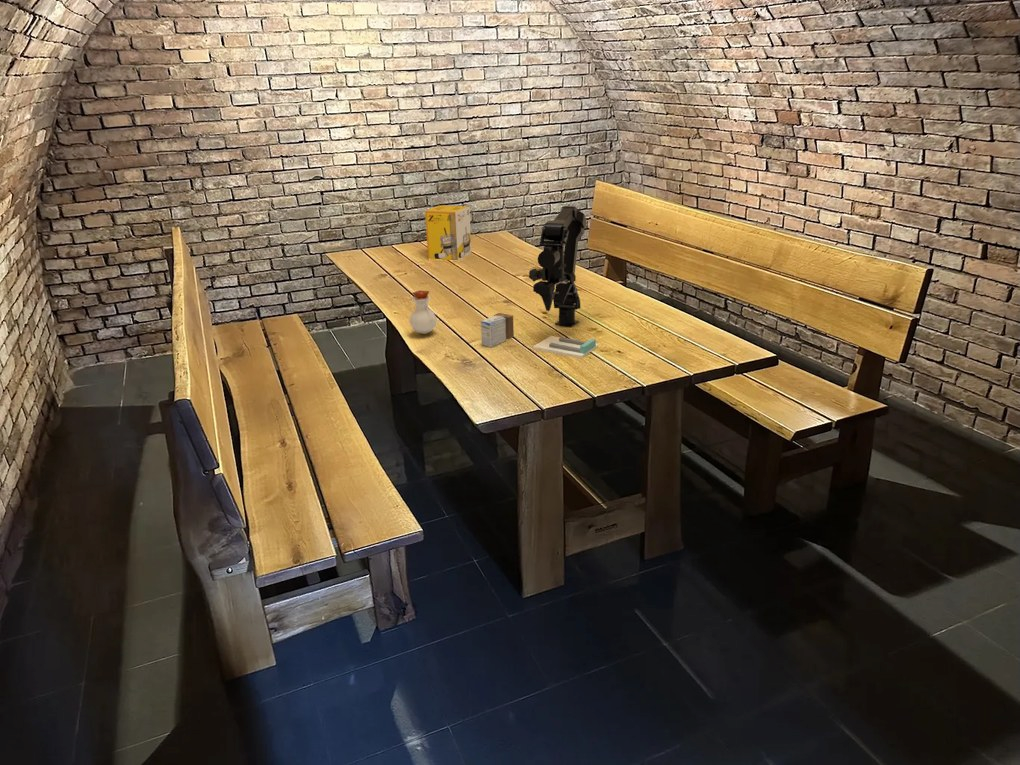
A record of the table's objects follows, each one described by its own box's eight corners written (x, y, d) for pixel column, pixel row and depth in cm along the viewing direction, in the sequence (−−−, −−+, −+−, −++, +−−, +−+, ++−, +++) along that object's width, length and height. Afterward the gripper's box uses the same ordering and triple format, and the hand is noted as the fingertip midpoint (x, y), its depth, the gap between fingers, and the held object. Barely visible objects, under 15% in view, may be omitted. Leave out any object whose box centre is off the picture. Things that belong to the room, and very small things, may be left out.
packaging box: (458, 264, 355) (455, 212, 345) (428, 261, 360) (424, 210, 350) (471, 256, 368) (469, 206, 359) (442, 254, 374) (439, 205, 364)
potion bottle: (439, 336, 256) (437, 294, 251) (412, 339, 254) (408, 297, 248) (435, 328, 265) (432, 288, 259) (408, 331, 262) (405, 290, 257)
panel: (498, 312, 254) (513, 315, 251) (499, 334, 257) (513, 337, 254) (493, 315, 251) (508, 317, 248) (494, 337, 254) (509, 339, 251)
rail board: (551, 339, 251) (551, 329, 249) (598, 347, 242) (598, 337, 240) (533, 349, 242) (533, 339, 240) (581, 359, 232) (581, 348, 231)
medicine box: (496, 338, 253) (495, 315, 249) (506, 341, 250) (505, 317, 246) (481, 345, 247) (480, 320, 244) (491, 347, 244) (490, 323, 241)
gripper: (547, 253, 250) (547, 297, 256) (518, 264, 235) (519, 311, 241) (576, 256, 244) (576, 301, 250) (548, 268, 230) (548, 316, 236)
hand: (554, 307), depth 244 cm, fingers open, 9 cm apart
